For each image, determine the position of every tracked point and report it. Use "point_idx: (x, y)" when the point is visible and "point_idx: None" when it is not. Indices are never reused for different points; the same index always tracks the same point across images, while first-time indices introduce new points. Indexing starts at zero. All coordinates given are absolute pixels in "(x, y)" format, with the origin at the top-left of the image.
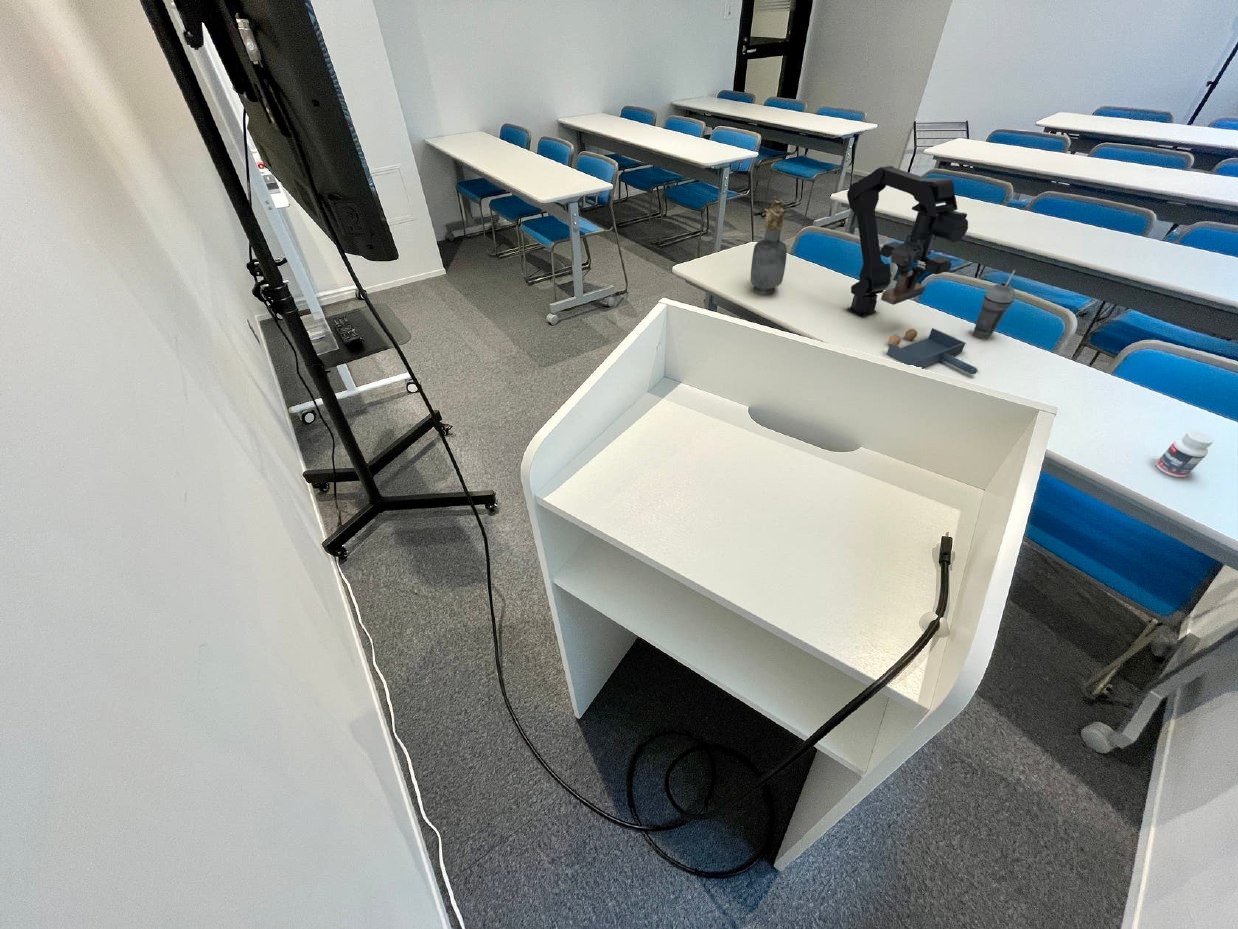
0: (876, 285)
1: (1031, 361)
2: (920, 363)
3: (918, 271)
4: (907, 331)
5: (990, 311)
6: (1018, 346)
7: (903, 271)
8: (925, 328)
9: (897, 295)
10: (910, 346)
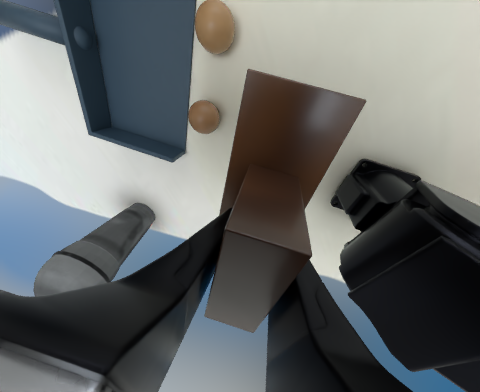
0: (401, 225)
1: (54, 173)
2: None
3: (47, 296)
4: (208, 109)
5: (91, 236)
6: (97, 207)
7: (292, 307)
8: (213, 189)
9: (248, 100)
10: (182, 67)
